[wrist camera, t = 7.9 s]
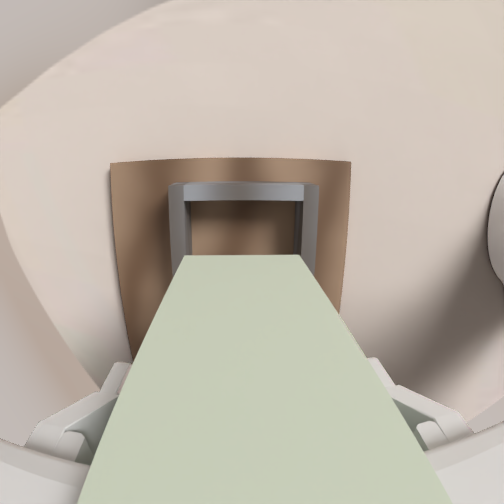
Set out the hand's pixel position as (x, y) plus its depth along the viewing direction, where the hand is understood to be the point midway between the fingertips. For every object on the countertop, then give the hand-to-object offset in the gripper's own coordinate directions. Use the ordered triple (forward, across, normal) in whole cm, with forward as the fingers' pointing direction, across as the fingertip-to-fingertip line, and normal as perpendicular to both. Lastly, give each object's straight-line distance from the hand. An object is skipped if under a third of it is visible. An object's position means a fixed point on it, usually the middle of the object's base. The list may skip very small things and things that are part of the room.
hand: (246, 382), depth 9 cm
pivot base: (+17, +1, +3) cm, 17 cm away
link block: (+6, 0, 0) cm, 6 cm away
